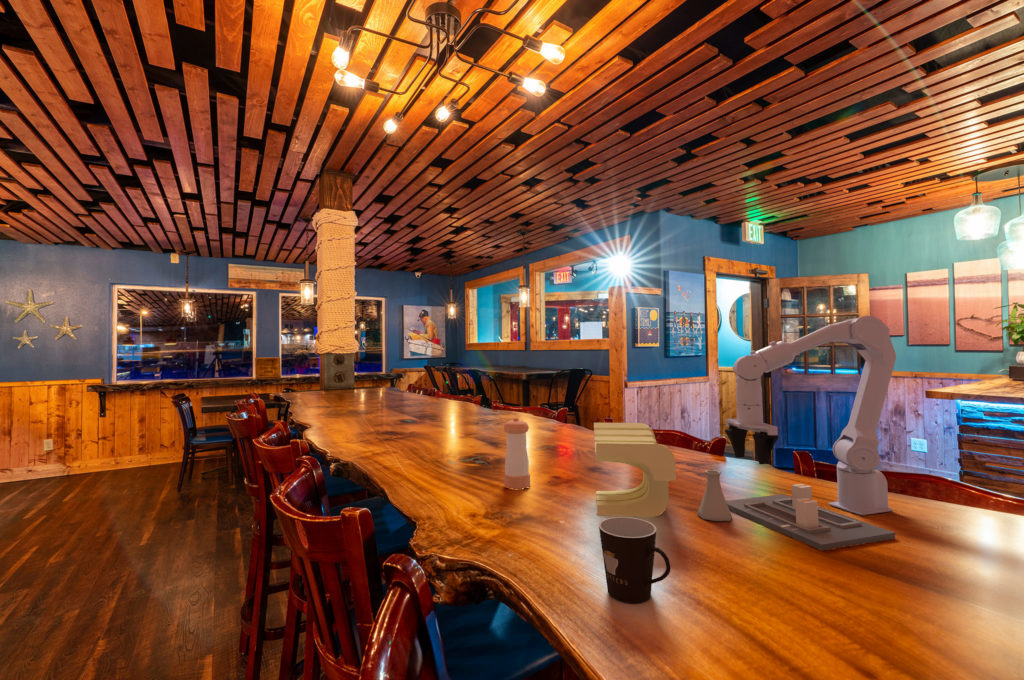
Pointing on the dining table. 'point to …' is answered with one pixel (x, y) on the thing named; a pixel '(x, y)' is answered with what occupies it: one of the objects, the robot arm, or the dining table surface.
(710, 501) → the flask
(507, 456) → the pepper shaker
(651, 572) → the coffee mug
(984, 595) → the dining table surface
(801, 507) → the fader
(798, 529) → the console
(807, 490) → the fader
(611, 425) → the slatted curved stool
